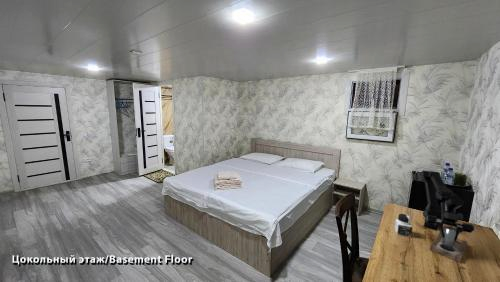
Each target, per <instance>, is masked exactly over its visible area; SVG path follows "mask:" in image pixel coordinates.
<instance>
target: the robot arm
mask: <svg viewBox="0 0 500 282" xmlns="http://www.w3.org/2000/svg"><path fill="white" fill-rule="evenodd" d="M419 176H420V178H421V181H422V182H423V183H424V185H425V192H426V200H427V206H426V207H425V210H424V211H422V217H424V223H423V227H424V228H427V229H430V230H433V231H437V230H438V231H439V233H441V235H442V237H443V238H444V231H445V229H444V225H447V226H449V227H451V226H452V227H455V229H456V235H455V241H456V240H457V238H458V237H459V235H460V233H463V232H464V233H465V232H466V233H469V234H470V233H472V232H474V231H475V226H474V225H473V224H471V223H466V222H462V223H458V221H459V220H461V221H463V220H464V214H463V213H461V212H458V213H456V210H457V209H459V208H460V207H462V206H463V205H465V200H464V199H463V198H462V197H460V196H459V195H458V193H457V194H455V193H454V192H453V191H452V190H451V189H450V188H449V187H447V186H446V184H445V182H444V180H443V179H442V177H441V173H440V171H433V170H421V171H420V173H419ZM438 200H439V201H442V202H440V206H439V204H438Z"/></svg>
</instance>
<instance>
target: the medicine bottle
mask: <svg viewBox="0 0 500 282" xmlns="http://www.w3.org/2000/svg"><path fill="white" fill-rule="evenodd" d="M397 217H398V218H395V222H394V230H395V233H396V234H397V235H398V236H403V237H407V238H411V237H412V231H413V226H412V224H411V220H412V219H411V216H409V214H406V213H399V214H398V216H397Z"/></svg>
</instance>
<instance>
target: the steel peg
mask: <svg viewBox="0 0 500 282" xmlns="http://www.w3.org/2000/svg"><path fill="white" fill-rule="evenodd" d="M455 235H456V228H454V227H453V226H452V227H451V226H448V225H447V226H444V238H443V241H442V249H444V250H446V251H450V252H452V250H453V245H454V240H455Z"/></svg>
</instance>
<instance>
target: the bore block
mask: <svg viewBox="0 0 500 282" xmlns="http://www.w3.org/2000/svg"><path fill="white" fill-rule="evenodd" d="M442 241H443V237H442V235H441V233H440V232H438V234H437V236H436V237H435V239H434V240H433V242H432V243H431V244H430V247H429V251H431V252H433V253H435V254H437V255H438V254H439V255H440V256H443V257H445V258H447V259H450V260H451V261H454V262H457V263H459V264H460V263H461V261H462V260H463V259H462V258H463V257H464V254H465V251H466V249H467V248H468V242H469V241H466V240H463V239H461V238H458V237H457V240H456V241H455V240H454V245H453V250H452V251H451V252H450V251H446V250H444V249H443V248H442Z"/></svg>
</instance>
